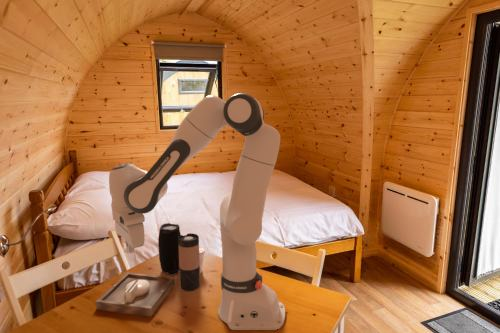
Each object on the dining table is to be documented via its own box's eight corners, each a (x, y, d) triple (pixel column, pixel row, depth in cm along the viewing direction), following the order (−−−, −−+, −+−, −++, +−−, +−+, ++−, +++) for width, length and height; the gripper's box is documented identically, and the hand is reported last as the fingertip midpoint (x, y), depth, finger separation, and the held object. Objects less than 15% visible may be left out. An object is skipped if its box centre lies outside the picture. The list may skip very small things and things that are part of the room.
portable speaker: (160, 266, 144) (158, 223, 141) (182, 264, 146) (181, 221, 143) (159, 276, 136) (156, 230, 133) (182, 274, 138) (181, 229, 134)
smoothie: (203, 275, 137) (203, 243, 134) (188, 275, 137) (187, 243, 134) (206, 268, 143) (205, 237, 141) (191, 268, 143) (190, 237, 141)
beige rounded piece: (132, 283, 127) (131, 273, 126) (153, 285, 126) (152, 274, 125) (117, 301, 115) (116, 290, 115) (139, 303, 115) (139, 292, 114)
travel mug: (196, 292, 125) (194, 242, 121) (176, 290, 127) (174, 240, 123) (203, 282, 132) (201, 234, 129) (184, 280, 134) (182, 232, 130)
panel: (175, 284, 131) (175, 276, 130) (151, 316, 111) (150, 307, 111) (127, 279, 134) (127, 271, 134) (96, 309, 115) (95, 300, 114)
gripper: (108, 206, 119) (112, 243, 122) (126, 222, 103) (130, 264, 106) (126, 203, 123) (130, 238, 125) (146, 218, 106) (150, 258, 109)
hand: (130, 250), depth 115 cm, fingers closed
